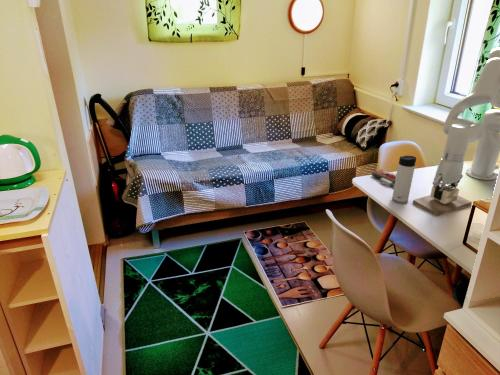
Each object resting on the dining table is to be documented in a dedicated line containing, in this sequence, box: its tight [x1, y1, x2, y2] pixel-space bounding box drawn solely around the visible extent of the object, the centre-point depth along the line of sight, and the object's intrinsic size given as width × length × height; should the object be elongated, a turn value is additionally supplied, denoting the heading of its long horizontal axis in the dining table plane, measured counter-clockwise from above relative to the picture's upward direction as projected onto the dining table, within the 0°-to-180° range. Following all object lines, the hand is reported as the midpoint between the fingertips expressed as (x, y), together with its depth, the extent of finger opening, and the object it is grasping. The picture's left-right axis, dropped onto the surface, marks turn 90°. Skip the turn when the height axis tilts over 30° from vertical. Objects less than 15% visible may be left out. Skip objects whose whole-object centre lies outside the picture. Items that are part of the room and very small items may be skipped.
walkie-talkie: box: [371, 169, 397, 188], centre depth 176 cm, size 9×4×20 cm
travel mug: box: [391, 155, 417, 205], centre depth 156 cm, size 6×7×20 cm
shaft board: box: [412, 184, 473, 217], centre depth 156 cm, size 20×12×8 cm, turn 116°
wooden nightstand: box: [429, 184, 460, 204], centre depth 156 cm, size 7×7×5 cm
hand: (443, 196), depth 156 cm, fingers closed on wooden nightstand, 7 cm apart
